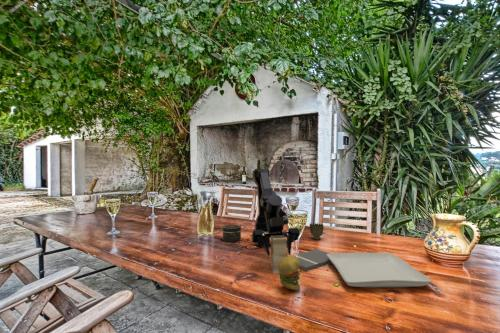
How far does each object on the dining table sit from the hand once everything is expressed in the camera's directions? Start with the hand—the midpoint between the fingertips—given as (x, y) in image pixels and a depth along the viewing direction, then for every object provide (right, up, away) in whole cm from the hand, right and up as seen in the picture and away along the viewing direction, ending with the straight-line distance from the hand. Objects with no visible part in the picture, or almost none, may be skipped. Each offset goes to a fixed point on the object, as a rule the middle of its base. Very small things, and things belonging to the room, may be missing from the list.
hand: (279, 255), depth 104 cm
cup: (+25, -6, +45) cm, 52 cm away
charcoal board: (+15, -6, +11) cm, 20 cm away
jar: (-21, -7, +45) cm, 50 cm away
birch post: (0, -7, +1) cm, 7 cm away
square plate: (+33, -6, -4) cm, 34 cm away
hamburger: (+2, -7, -14) cm, 16 cm away
